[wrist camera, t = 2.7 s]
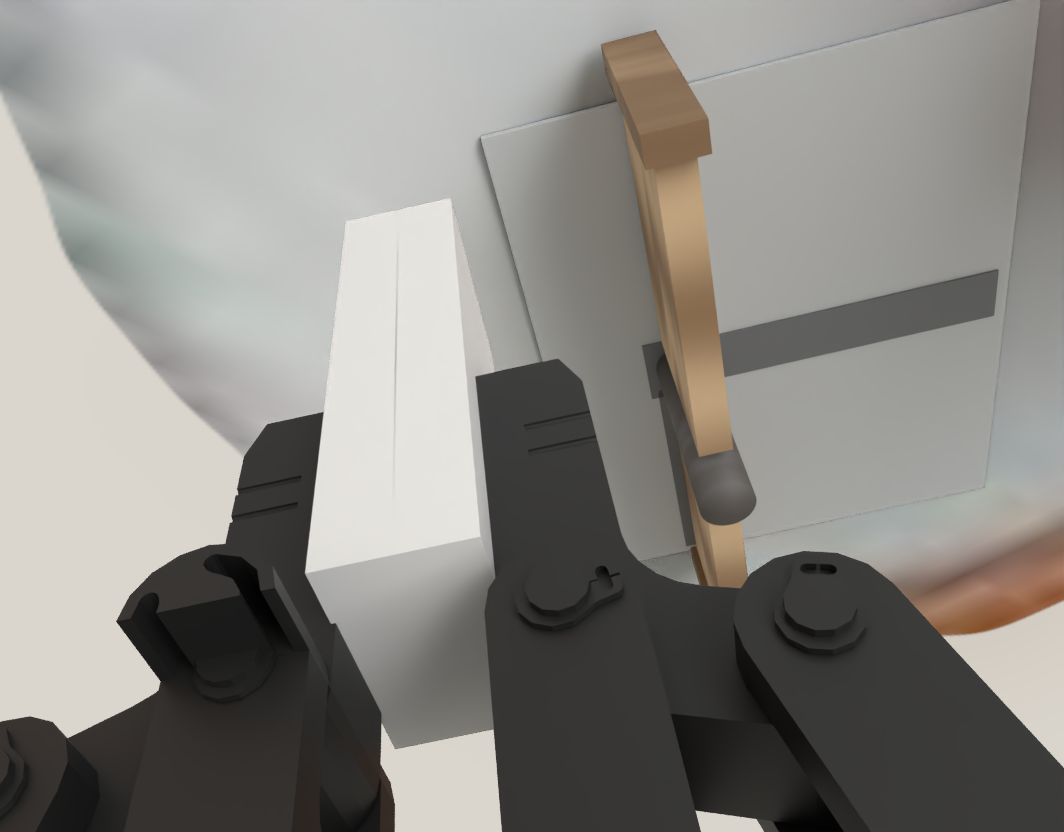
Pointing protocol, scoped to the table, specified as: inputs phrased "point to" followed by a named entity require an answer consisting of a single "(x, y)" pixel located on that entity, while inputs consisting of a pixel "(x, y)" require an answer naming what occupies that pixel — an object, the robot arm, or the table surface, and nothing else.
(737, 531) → the fence panel fixed
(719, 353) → the fence panel hinged
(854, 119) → the board
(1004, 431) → the table surface
